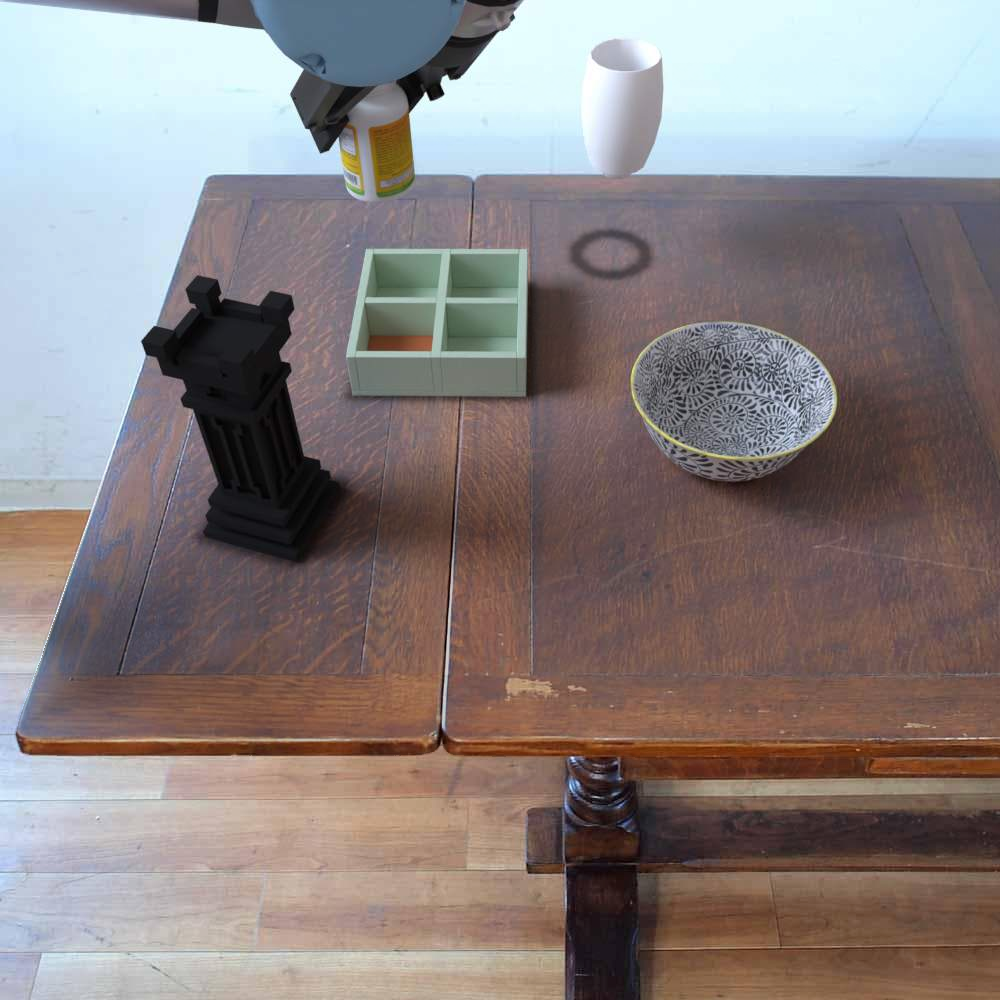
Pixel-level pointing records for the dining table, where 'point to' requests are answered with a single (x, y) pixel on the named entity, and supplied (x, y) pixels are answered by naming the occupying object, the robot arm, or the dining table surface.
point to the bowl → (731, 398)
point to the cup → (621, 105)
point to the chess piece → (246, 419)
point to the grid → (440, 323)
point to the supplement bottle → (378, 146)
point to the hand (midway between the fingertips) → (352, 123)
